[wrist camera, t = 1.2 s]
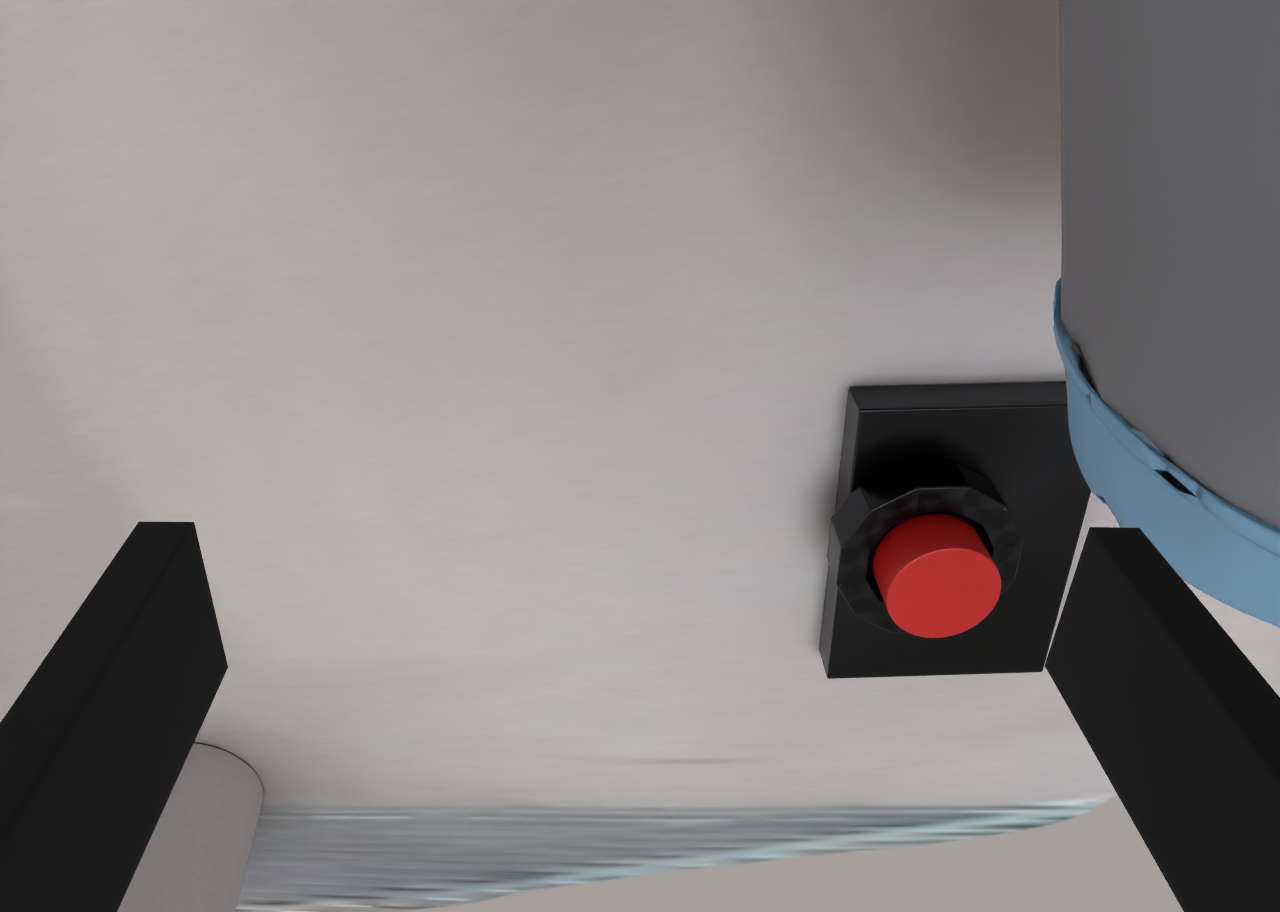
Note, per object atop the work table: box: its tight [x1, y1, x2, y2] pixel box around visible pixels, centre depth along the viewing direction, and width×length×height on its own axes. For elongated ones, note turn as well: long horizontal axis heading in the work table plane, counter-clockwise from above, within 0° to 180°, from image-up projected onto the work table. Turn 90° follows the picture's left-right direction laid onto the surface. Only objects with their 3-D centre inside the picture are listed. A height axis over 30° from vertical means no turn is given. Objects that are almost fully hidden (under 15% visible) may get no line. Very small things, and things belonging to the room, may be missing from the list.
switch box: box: [819, 382, 1091, 679], centre depth 42 cm, size 14×11×4 cm
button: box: [873, 513, 1001, 638], centre depth 39 cm, size 4×4×2 cm
